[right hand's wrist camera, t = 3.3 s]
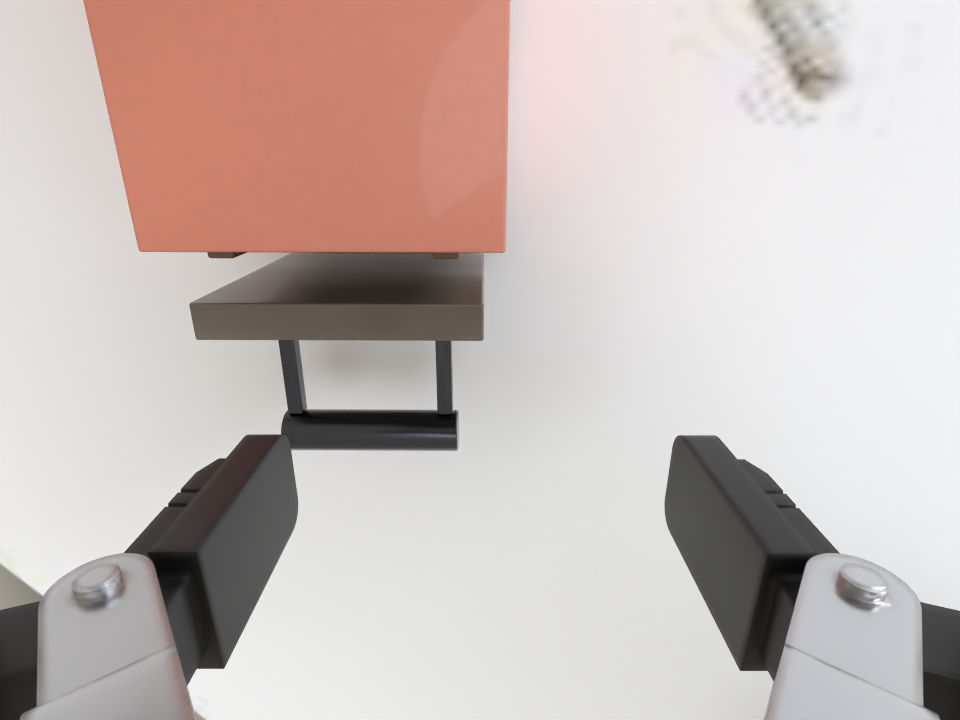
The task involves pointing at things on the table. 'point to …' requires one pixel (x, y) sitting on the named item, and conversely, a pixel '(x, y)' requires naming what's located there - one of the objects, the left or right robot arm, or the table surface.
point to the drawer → (355, 333)
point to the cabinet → (309, 122)
